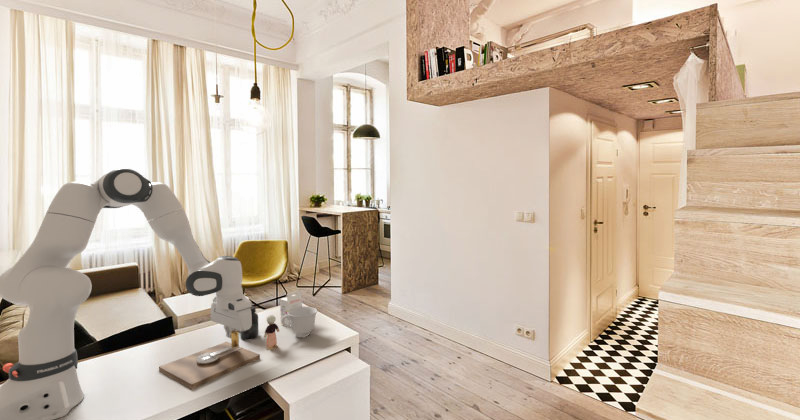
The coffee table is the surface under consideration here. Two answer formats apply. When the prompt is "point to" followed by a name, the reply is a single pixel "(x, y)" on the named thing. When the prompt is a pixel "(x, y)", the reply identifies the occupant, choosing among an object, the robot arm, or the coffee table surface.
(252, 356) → the base plate
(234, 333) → the lever
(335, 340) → the coffee table surface
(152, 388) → the coffee table surface
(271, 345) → the grandmother figurine
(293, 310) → the teacup
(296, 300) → the ink cartridge box
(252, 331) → the supplement bottle
